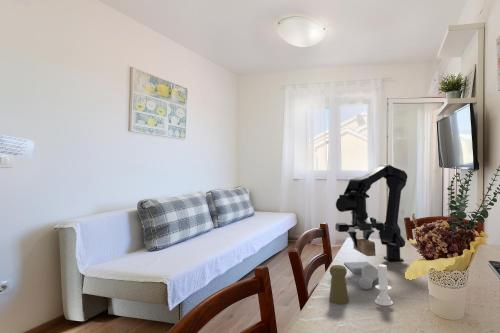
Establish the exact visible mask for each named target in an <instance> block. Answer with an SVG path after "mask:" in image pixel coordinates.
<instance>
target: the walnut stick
mask: <svg viewBox="0 0 500 333" xmlns="http://www.w3.org/2000/svg"><path fill="white" fill-rule="evenodd" d="M356 240H357V248H355V246H354V243H353V242H352V244H353V245H352V246H353V249H354V250H355V251H357V252H359V253H361V254H362V255H364V256H366V257H376V242H375V241H373V240H370V239H366V238H363V236H360V235H359V236H356Z"/></svg>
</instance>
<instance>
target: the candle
mask: <svg viewBox="0 0 500 333" xmlns="http://www.w3.org/2000/svg"><path fill="white" fill-rule="evenodd" d="M377 270H378V284H377V285H375V286H374V287H375V288H376V289H377V290H379V291H380V292H379V294H378V295H377V296H376V299H375V300H374V303H375V304H376V305H380V306H384V307H385V306H386V307H387V306H388V307H389V306H393V304H394V302H393V300H391V296H389V295H388V291H390V290H392V287H391V286H390V285H388V281H389V280H388V267H387V265H386V264H383V263H381V264H378V266H377Z"/></svg>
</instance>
